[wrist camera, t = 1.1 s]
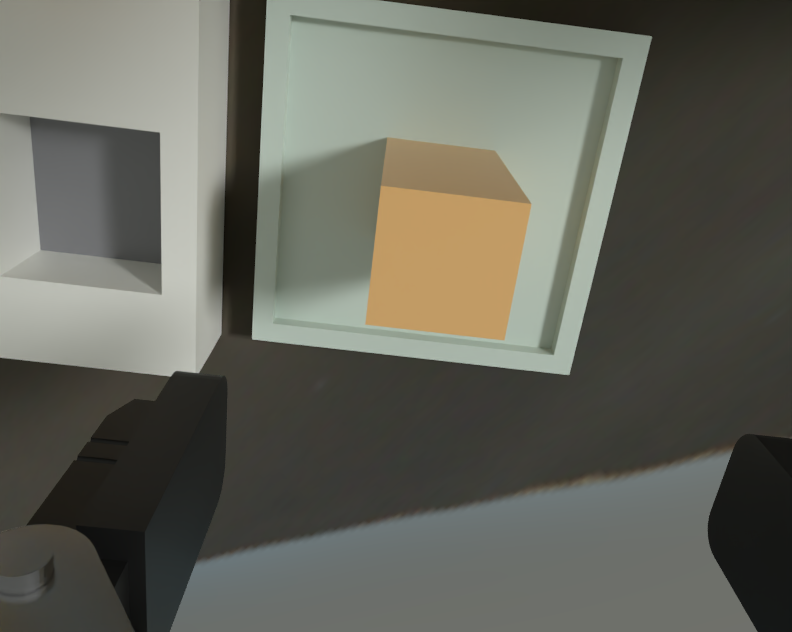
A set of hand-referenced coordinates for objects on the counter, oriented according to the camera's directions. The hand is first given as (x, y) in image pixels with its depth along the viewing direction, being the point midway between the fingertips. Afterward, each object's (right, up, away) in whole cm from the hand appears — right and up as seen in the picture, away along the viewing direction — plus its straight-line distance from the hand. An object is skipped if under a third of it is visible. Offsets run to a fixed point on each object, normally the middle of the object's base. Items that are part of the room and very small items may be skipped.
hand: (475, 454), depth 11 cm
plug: (0, +7, +16) cm, 17 cm away
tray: (0, +7, +16) cm, 18 cm away
